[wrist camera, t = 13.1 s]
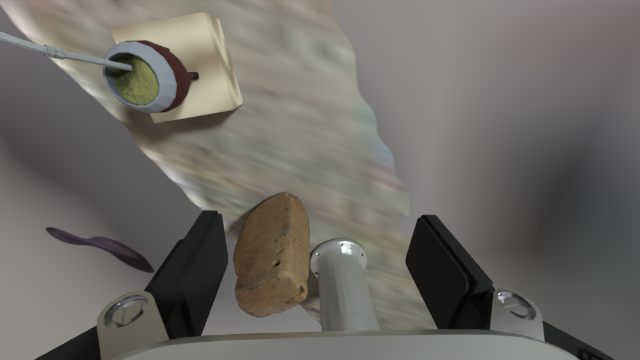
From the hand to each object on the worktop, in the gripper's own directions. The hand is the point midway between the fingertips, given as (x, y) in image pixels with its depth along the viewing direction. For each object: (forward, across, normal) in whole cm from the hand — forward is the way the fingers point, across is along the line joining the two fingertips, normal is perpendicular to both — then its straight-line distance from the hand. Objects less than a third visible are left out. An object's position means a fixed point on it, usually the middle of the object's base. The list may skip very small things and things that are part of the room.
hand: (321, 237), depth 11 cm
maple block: (+31, +17, -5) cm, 35 cm away
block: (+31, +5, +19) cm, 36 cm away
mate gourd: (+25, +18, -5) cm, 31 cm away
